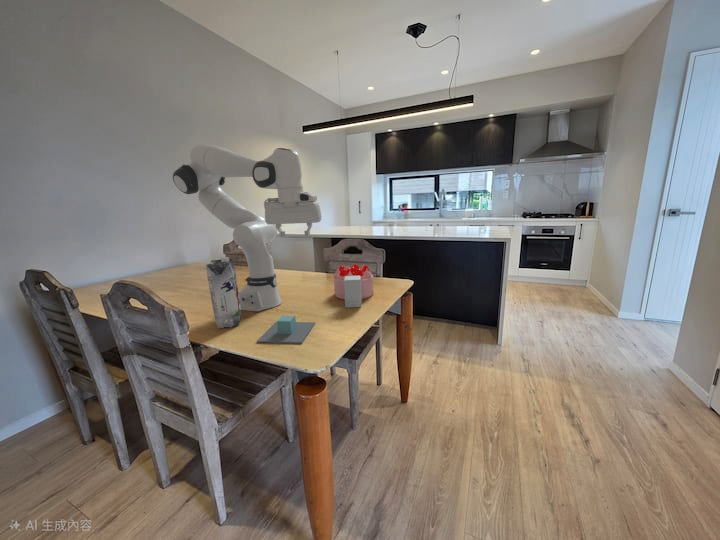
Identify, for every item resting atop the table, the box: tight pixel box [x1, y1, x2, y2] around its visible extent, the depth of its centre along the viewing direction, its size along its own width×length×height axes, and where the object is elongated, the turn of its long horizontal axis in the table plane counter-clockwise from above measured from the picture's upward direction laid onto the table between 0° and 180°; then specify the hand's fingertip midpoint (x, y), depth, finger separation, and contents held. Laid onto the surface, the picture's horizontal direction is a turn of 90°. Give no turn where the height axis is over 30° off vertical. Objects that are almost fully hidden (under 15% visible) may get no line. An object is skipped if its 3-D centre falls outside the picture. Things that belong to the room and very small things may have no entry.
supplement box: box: [344, 276, 363, 308], centre depth 128 cm, size 7×7×13 cm
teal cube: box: [276, 315, 297, 334], centre depth 104 cm, size 5×5×5 cm
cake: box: [333, 263, 375, 301], centre depth 143 cm, size 20×20×14 cm
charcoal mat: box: [256, 321, 316, 345], centre depth 104 cm, size 16×16×1 cm
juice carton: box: [205, 256, 242, 329], centre depth 111 cm, size 9×10×27 cm
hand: (294, 236), depth 104 cm, fingers open, 8 cm apart
